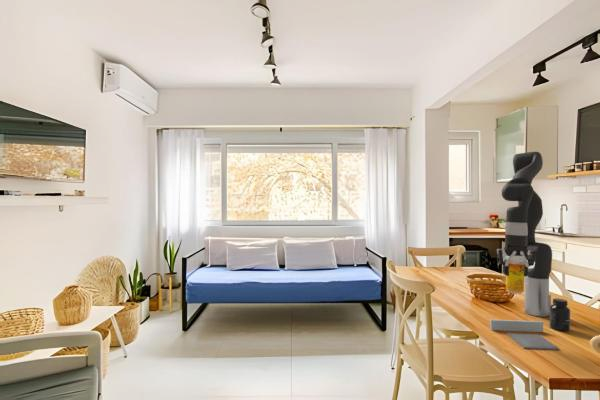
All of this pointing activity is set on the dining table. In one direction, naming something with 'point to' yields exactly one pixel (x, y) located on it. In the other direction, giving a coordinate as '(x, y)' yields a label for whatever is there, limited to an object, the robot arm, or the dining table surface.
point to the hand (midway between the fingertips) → (515, 275)
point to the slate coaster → (532, 341)
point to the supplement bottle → (559, 315)
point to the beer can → (515, 275)
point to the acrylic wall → (516, 325)
